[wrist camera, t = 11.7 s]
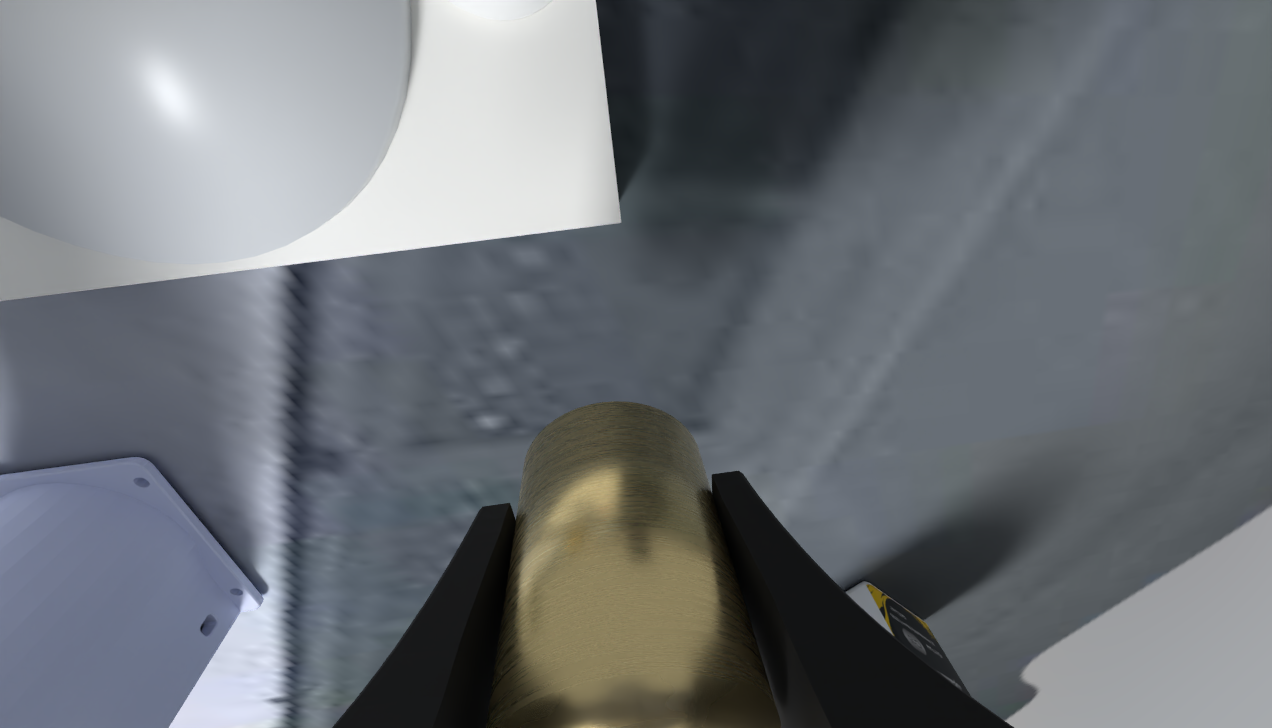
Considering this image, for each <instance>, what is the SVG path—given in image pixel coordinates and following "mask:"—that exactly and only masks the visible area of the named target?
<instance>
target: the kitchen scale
mask: <svg viewBox="0 0 1272 728" xmlns="http://www.w3.org/2000/svg"><path fill="white" fill-rule="evenodd" d="M615 223H621V215H620V207H619V198H618V189H617V181H616V172H615V163H614V155H613V146H612V137H611V129H610V120H609V112H608V103H607V94H606V86H605V77H604V68H603V60H602V51H601V42H600V34H599V25H598V16H597V8H596V0H0V301H7V300H15V299H23V298H30V297H38V296H46V295H54V294H62V293H70V292H78V291H86V290H94V289H102V288H109V287H117V286H125V285H133V284H141V283H149V282H157V281H165V280H173V279H181V278H189V277H196V276H204V275H212V274H220V273H228V272H236V271H244V270H252V269H260V268H268V267H275V266H283V265H291V264H299V263H307V262H315V261H323V260H331V259H339V258H347V257H354V256H362V255H370V254H378V253H386V252H394V251H402V250H410V249H418V248H426V247H434V246H441V245H449V244H457V243H465V242H473V241H481V240H489V239H497V238H505V237H513V236H520V235H528V234H536V233H544V232H552V231H560V230H568V229H576V228H584V227H592V226H599V225H607V224H615Z"/></svg>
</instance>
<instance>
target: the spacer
mask: <svg viewBox="0 0 1272 728" xmlns="http://www.w3.org/2000/svg"><path fill="white" fill-rule="evenodd" d="M486 728H781V721H780V717H779V714H778V711H777V707H776V704H775V701H774V698H773V694H772V691H771V688H770V684H769V681H768V678H767V674H766V671H765V668H764V664H763V661H762V658H761V654H760V651H759V648H758V645H757V641H756V638H755V635H754V631H753V628H752V625H751V621H750V618H749V615H748V611H747V608H746V605H745V601H744V598H743V595H742V592H741V588H740V585H739V582H738V578H737V575H736V572H735V568H734V565H733V562H732V558H731V555H730V552H729V549H728V545H727V542H726V539H725V535H724V532H723V529H722V525H721V522H720V519H719V516H718V512H717V509H716V506H715V502H714V499H713V496H712V492H711V489H710V486H709V482H708V479H707V476H706V472H705V469H704V466H703V462H702V459H701V456H700V453H699V449H698V446H697V444H696V442H695V440H694V438H693V436H692V435H691V433H690V432H689V431H688V429H687V428H686V427H685V426H684V425H683V424H682V423H681V422H679V421H678V420H677V419H675V418H674V417H672V416H671V415H669V414H667V413H665V412H663V411H662V410H659V409H656V408H654V407H651V406H647V405H643V404H639V403H632V402H602V403H597V404H591V405H587V406H584V407H581V408H577V409H575V410H573V411H570V412H568V413H566V414H564V415H562V416H561V417H559V418H557V419H555V420H554V421H553V422H551V423H550V424H549V425H548V426H546V427H545V428H544V429H543V430H542V431H541V432H540V433H539V434H538V436H537V437H536V438H535V440H534V441H533V442H532V444H531V446H530V448H529V450H528V452H527V455H526V458H525V462H524V469H523V475H522V482H521V489H520V496H519V503H518V510H517V517H516V524H515V531H514V538H513V545H512V552H511V559H510V566H509V572H508V579H507V586H506V593H505V600H504V607H503V614H502V621H501V628H500V635H499V642H498V649H497V656H496V662H495V669H494V676H493V683H492V690H491V697H490V704H489V711H488V718H487V725H486Z"/></svg>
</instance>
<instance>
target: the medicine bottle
mask: <svg viewBox="0 0 1272 728" xmlns="http://www.w3.org/2000/svg"><path fill="white" fill-rule="evenodd" d="M845 593H846V594H847V595H848V596H850V597H851V598H852V599H853V600H854V601H855V602H856V603H857V604H858V605H859V606H860V607H861V608H862V609H864V610H865V611H866V612H867V613H868V614H869V615H870V616H871V617H872V618H873V619H875V620H876V621H877V622H878V623H879V624H880V625H881V626H883V627H884V628H885V629H886V630H887V631H888V632H890V633H891V634H892V635H893V636H894V637H895V638H897V639H898V640H899V641H900V642H901V643H902V644H904V645H905V646H906V647H907V648H908V649H910V650H911V651H912V652H914V653H915V654H916V655H917V656H919V657H920V658H921V659H923V660H924V661H925V662H926V663H928V664H929V665H930V666H931V667H933V668H934V669H935V670H937V671H938V672H939V673H940V674H942V675H943V676H944V677H946V678H947V679H948V680H949V681H951V682H952V683H953V684H954V685H956V686H957V687H958V688H960V689H961V690H962V691H964V692H965V693H966V694H968V695H969V696H970V694H969V692H968V691H967V689H966V687H965V686H964V684H963V683H962V681H961V679H960V678H959V676H958V674H957V673H956V671H955V670H954V668H953V666H952V665H951V663H950V661H949V660H948V658H947V657H946V655H945V653H944V652H943V650H942V648H941V647H940V645H939V644H938V642H937V640H936V639H935V637H934V635H933V634H932V632H931V631H930V629H929V627H928V626H927V624H926V623H925V622H924V621H923V620H922V619H920V618H919V617H917V616H916V615H914V614H913V613H912V612H910V611H909V610H907V609H906V608H905V607H903V606H902V605H900V604H899V603H898V602H896V601H895V600H893V599H892V598H890V597H889V596H888V595H886V594H885V593H883V592H882V591H881V590H879V589H878V588H876V587H875V586H873V585H872V584H871V583H869V582H866V581H863V582H861V583H859V584H857V585H856V586H854V587H853V588H851V589H849V590H848V591H846V592H845ZM970 697H971V696H970Z"/></svg>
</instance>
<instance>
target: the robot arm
mask: <svg viewBox="0 0 1272 728" xmlns="http://www.w3.org/2000/svg"><path fill="white" fill-rule="evenodd" d="M712 496H713V499H714V502H715V506H716V509H717V512H718V516H719V519H720V522H721V525H722V529H723V532H724V535H725V539H726V542H727V545H728V549H729V552H730V555H731V558H732V562H733V565H734V568H735V572H736V575H737V578H738V582H739V585H740V588H741V592H742V595H743V598H744V601H745V605H746V608H747V611H748V615H749V618H750V621H751V625H752V628H753V631H754V635H755V638H756V641H757V645H758V648H759V651H760V654H761V658H762V661H763V664H764V668H765V671H766V674H767V678H768V681H769V684H770V688H771V691H772V694H773V698H774V701H775V704H776V707H777V711H778V714H779V717H780V721H781V728H1014V727H1012V726H1011V725H1009V724H1008V723H1007V722H1005V721H1004V720H1002V719H1001V718H999V717H998V716H997V715H995V714H994V713H993V712H991V711H990V710H988V709H987V708H986V707H984V706H983V705H982V704H980V703H979V702H977V701H976V700H975V699H973V698H972V697H970V696H969V695H968V694H966V693H965V692H964V691H962V690H961V689H960V688H958V687H957V686H956V685H954V684H953V683H952V682H951V681H949V680H948V679H947V678H946V677H944V676H943V675H942V674H940V673H939V672H938V671H937V670H935V669H934V668H933V667H931V666H930V665H929V664H928V663H926V662H925V661H924V660H923V659H921V658H920V657H919V656H917V655H916V654H915V653H914V652H912V651H911V650H910V649H908V648H907V647H906V646H905V645H904V644H902V643H901V642H900V641H899V640H898V639H897V638H895V637H894V636H893V635H892V634H891V633H890V632H888V631H887V630H886V629H885V628H884V627H883V626H881V625H880V624H879V623H878V622H877V621H876V620H875V619H873V618H872V617H871V616H870V615H869V614H868V613H867V612H866V611H865V610H864V609H862V608H861V607H860V606H859V605H858V604H857V603H856V602H855V601H854V600H853V599H852V598H851V597H850V596H848V595H847V594H846V593H845V592H844V591H843V590H842V589H841V588H840V587H839V586H838V585H837V584H836V583H835V582H834V581H833V580H832V579H831V578H830V577H829V576H828V575H827V574H826V573H825V572H824V571H823V570H822V569H821V568H820V567H819V566H818V564H817V563H816V562H815V561H814V560H813V559H812V558H811V557H810V556H809V555H808V554H807V553H806V552H805V551H804V549H803V548H802V547H801V546H800V545H799V544H798V543H797V541H796V540H795V539H794V538H793V537H792V536H791V535H790V534H789V532H788V531H787V530H786V529H785V528H784V527H783V525H782V524H781V523H780V522H779V521H778V520H777V518H776V517H775V516H774V515H773V513H772V512H771V511H770V510H769V508H768V507H767V506H766V505H765V503H764V502H763V501H762V499H761V498H760V497H759V496H758V494H757V493H756V492H755V490H754V489H753V487H752V486H751V485H750V483H749V482H748V480H747V479H746V478H745V476H744V475H743V474H742V473H741V472H740V471H733V472H726V473H719V474H712ZM515 524H516V520H515V517H514V514H513V511H512V508H511V505H510V503H506V504H499V505H492V506H485V507H482V508H481V509H480V510H479V512H478V514H477V516H476V517H475V519H474V521H473V523H472V525H471V527H470V528H469V530H468V532H467V534H466V536H465V537H464V539H463V541H462V543H461V545H460V546H459V548H458V550H457V551H456V553H455V555H454V557H453V558H452V560H451V562H450V564H449V565H448V567H447V568H446V570H445V572H444V573H443V575H442V577H441V578H440V580H439V581H438V583H437V585H436V586H435V588H434V590H433V591H432V593H431V594H430V596H429V598H428V599H427V601H426V602H425V604H424V605H423V607H422V608H421V610H420V611H419V613H418V614H417V616H416V617H415V619H414V620H413V622H412V623H411V625H410V626H409V628H408V629H407V631H406V632H405V634H404V635H403V637H402V638H401V639H400V641H399V642H398V644H397V645H396V647H395V648H394V649H393V651H392V652H391V654H390V655H389V656H388V658H387V659H386V660H385V662H384V663H383V664H382V666H381V667H380V669H379V670H378V671H377V673H376V674H375V675H374V676H373V678H372V679H371V680H370V682H369V683H368V684H367V685H366V687H365V688H364V689H363V691H362V692H361V693H360V695H359V696H358V697H357V698H356V700H355V701H354V702H353V703H352V704H351V706H350V707H349V708H348V709H347V710H346V712H345V713H344V714H343V715H342V717H341V718H340V719H339V720H338V721H337V723H336V724H335V725H334V726H333V727H332V728H486V725H487V718H488V711H489V704H490V697H491V690H492V683H493V676H494V669H495V662H496V656H497V649H498V642H499V635H500V628H501V621H502V614H503V607H504V600H505V593H506V586H507V579H508V572H509V566H510V559H511V552H512V545H513V538H514V531H515ZM262 602H263V597H262V595H261V594H260V593H259V592H258V590H257V589H256V588H255V587H254V586H253V584H252V583H251V582H250V581H249V580H248V578H247V577H246V576H245V575H244V573H243V572H242V571H241V570H240V569H239V567H238V566H237V565H236V564H235V563H234V561H233V560H232V559H231V558H230V557H229V555H228V554H227V553H226V552H225V550H224V549H223V548H222V547H221V546H220V544H219V543H218V542H217V541H216V540H215V538H214V537H213V536H212V535H211V534H210V532H209V531H208V530H207V529H206V528H205V526H204V525H203V524H202V523H201V521H200V520H199V519H198V518H197V517H196V515H195V514H194V513H193V512H192V511H191V509H190V508H189V507H188V506H187V505H186V503H185V502H184V501H183V500H182V499H181V497H180V496H179V495H178V494H177V492H176V491H175V490H174V489H173V488H172V486H171V485H170V484H169V483H168V482H167V480H166V479H165V478H164V477H163V476H162V474H161V473H160V472H159V471H158V470H157V468H156V467H155V466H154V465H153V464H152V463H151V462H150V461H148V460H146V459H144V458H140V457H129V458H122V459H114V460H107V461H100V462H92V463H85V464H78V465H70V466H63V467H55V468H48V469H41V470H33V471H26V472H19V473H11V474H4V475H0V728H169V726H170V724H171V723H172V721H173V719H174V718H175V716H176V715H177V713H178V711H179V710H180V708H181V707H182V705H183V703H184V702H185V700H186V699H187V697H188V695H189V694H190V692H191V691H192V689H193V687H194V686H195V684H196V683H197V681H198V679H199V678H200V676H201V675H202V673H203V671H204V670H205V668H206V666H207V665H208V663H209V662H210V660H211V658H212V657H213V655H214V654H215V652H216V650H217V649H218V647H219V646H220V644H221V642H222V641H223V639H224V638H225V636H226V634H227V633H228V631H229V630H230V628H231V626H232V625H233V623H234V622H235V620H236V618H237V617H238V615H239V614H240V612H246V611H252V610H256V609H258V608H259V607H260V606H261V604H262Z"/></svg>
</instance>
